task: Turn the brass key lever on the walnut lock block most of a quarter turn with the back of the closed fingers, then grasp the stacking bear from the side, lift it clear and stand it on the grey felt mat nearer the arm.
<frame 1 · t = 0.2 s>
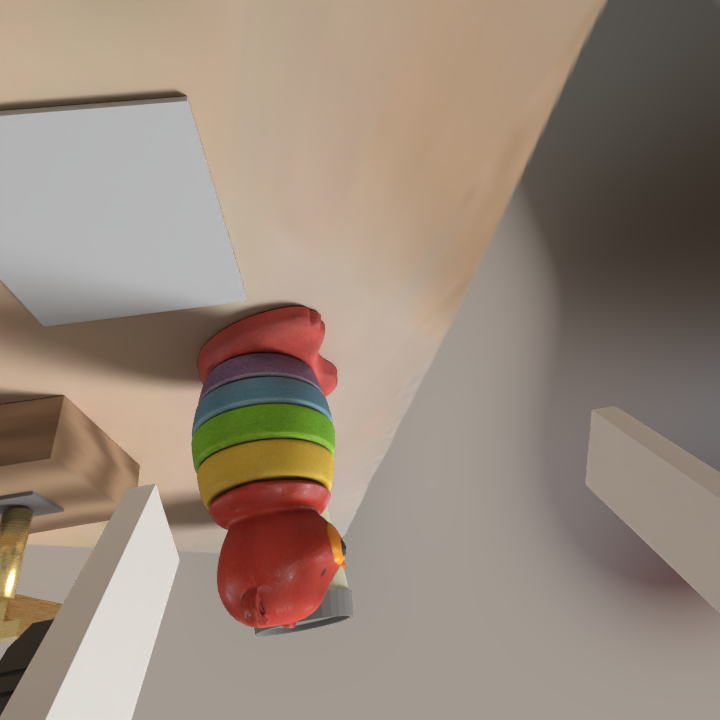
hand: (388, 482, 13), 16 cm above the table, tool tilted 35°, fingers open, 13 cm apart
key: (53, 586, 38), point 10 cm above the table, hinge at 0.0°
stacking bear: (265, 356, 34), on the table
lock block: (34, 446, 38), on the table
reusable coffee cup: (293, 503, 64), on the table
mat: (102, 230, 23), on the table
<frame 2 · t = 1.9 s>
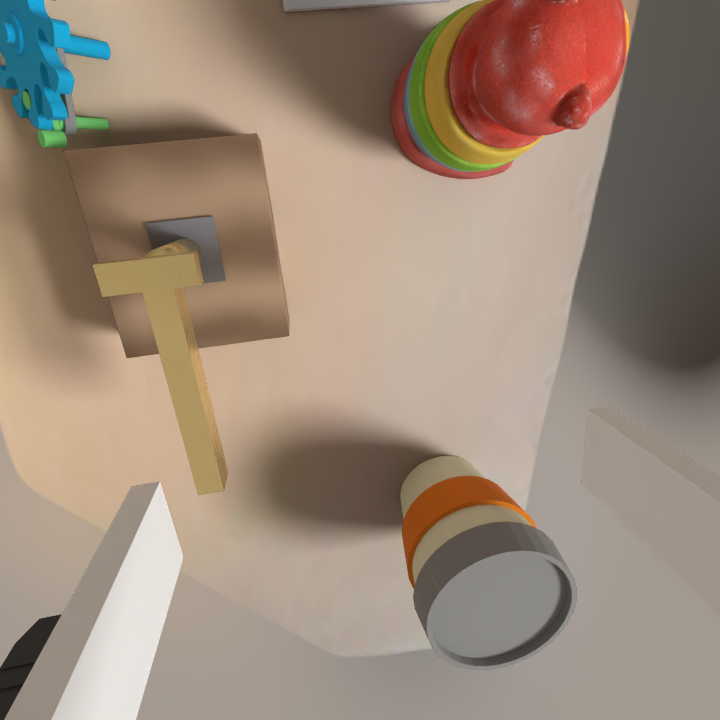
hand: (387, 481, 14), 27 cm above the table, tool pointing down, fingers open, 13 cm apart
key: (194, 364, 29), point 10 cm above the table, hinge at 0.0°
stacking bear: (450, 110, 35), on the table
lock block: (200, 245, 36), on the table
gear: (58, 64, 31), on the table
reusable coffee cup: (440, 490, 48), on the table
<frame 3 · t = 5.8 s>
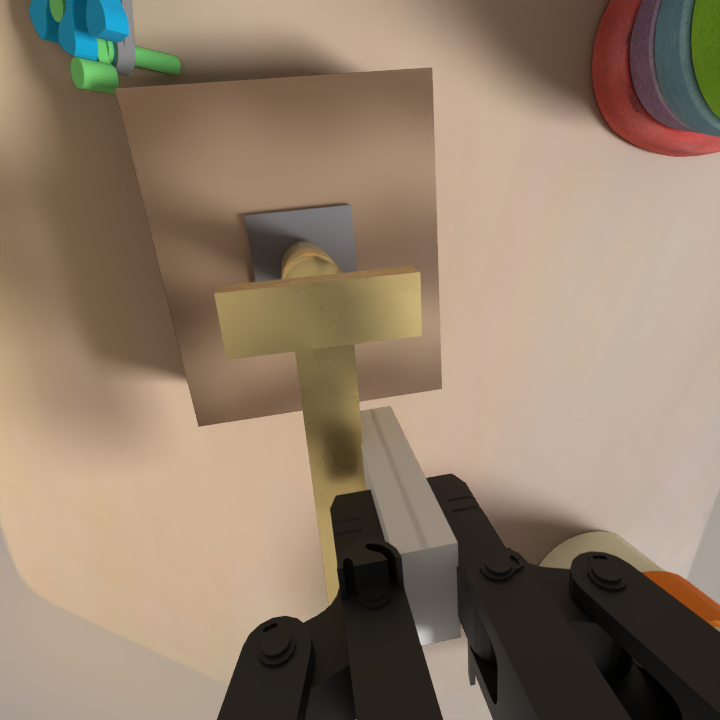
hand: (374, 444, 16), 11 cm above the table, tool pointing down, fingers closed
key: (331, 452, 17), point 10 cm above the table, hinge at -1.0°, touching gripper
stacking bear: (669, 54, 24), on the table
lock block: (300, 250, 24), on the table
reusable coffee cup: (581, 574, 36), on the table
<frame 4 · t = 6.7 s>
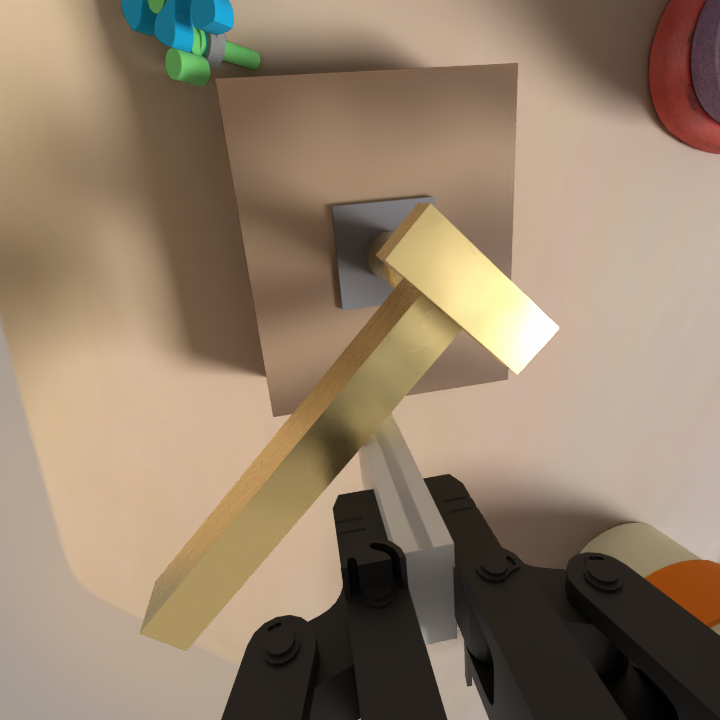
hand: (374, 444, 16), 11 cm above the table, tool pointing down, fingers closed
key: (303, 414, 16), point 10 cm above the table, hinge at -45.0°, touching gripper
lock block: (364, 244, 24), on the table
reusable coffee cup: (615, 565, 37), on the table
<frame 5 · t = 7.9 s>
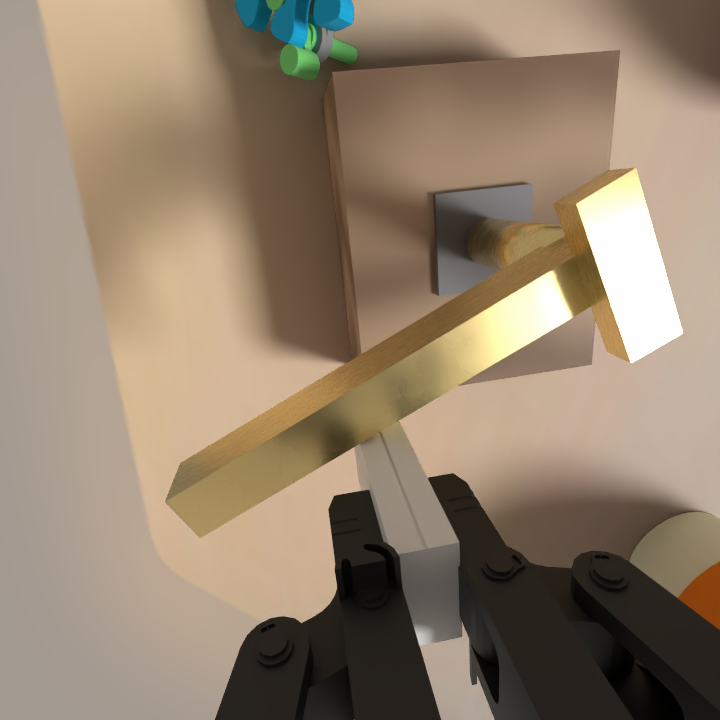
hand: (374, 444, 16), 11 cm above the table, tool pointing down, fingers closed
key: (380, 349, 16), point 10 cm above the table, hinge at -65.7°, touching gripper
lock block: (445, 232, 25), on the table
reusable coffee cup: (675, 554, 37), on the table
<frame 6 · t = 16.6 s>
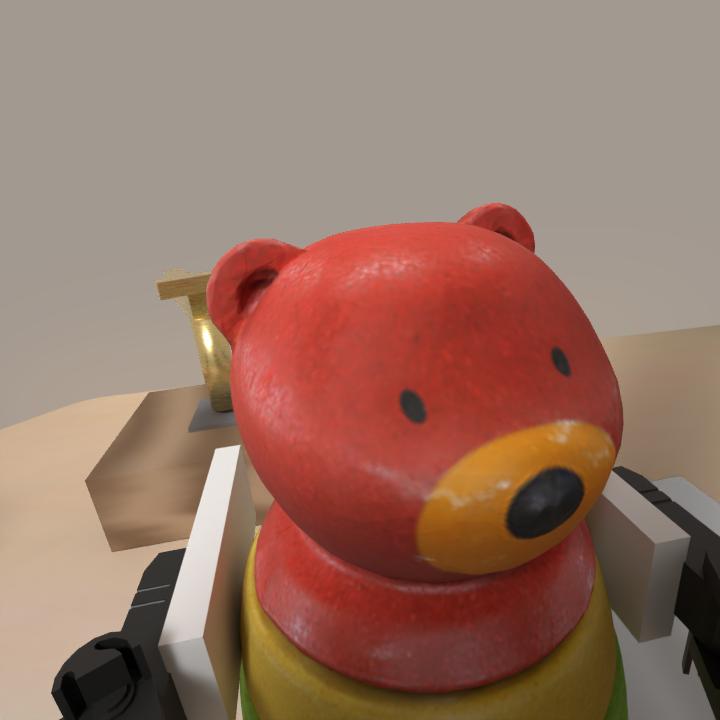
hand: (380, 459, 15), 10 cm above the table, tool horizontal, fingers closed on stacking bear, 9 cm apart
key: (195, 323, 35), point 10 cm above the table, hinge at -69.9°
lock block: (242, 473, 33), on the table
mat: (666, 579, 21), on the table
when the fingers open (11 cm above the table, at t = 21.6 s): stacking bear drops 1 cm, resting on mat.
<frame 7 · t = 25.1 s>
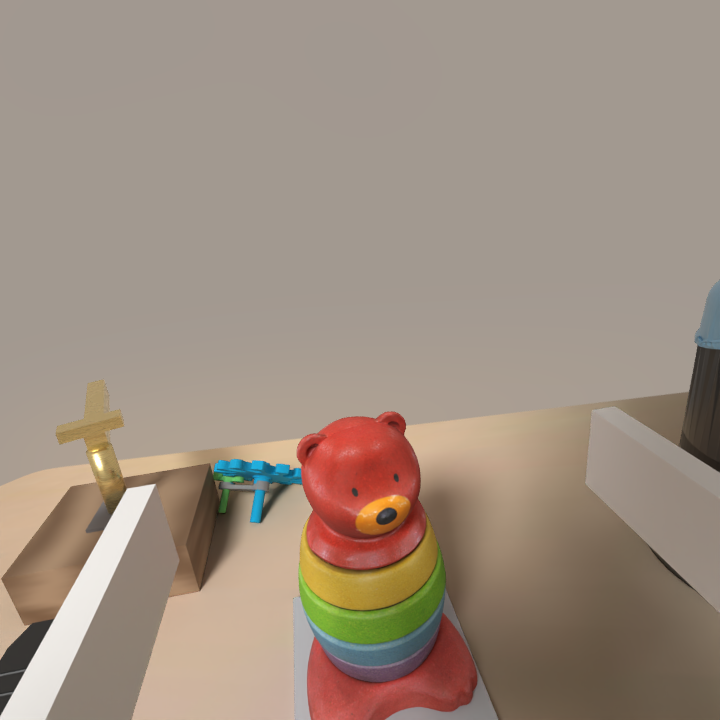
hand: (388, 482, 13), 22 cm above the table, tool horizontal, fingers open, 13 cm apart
key: (105, 435, 45), point 10 cm above the table, hinge at -69.9°
stacking bear: (382, 654, 31), resting on mat
lock block: (136, 554, 43), on the table
gear: (265, 504, 49), on the table
mat: (381, 656, 31), on the table
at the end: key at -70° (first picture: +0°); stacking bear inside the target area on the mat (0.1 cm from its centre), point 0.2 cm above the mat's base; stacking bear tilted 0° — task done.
